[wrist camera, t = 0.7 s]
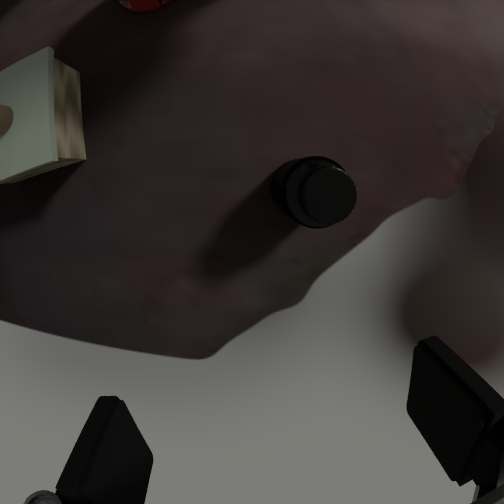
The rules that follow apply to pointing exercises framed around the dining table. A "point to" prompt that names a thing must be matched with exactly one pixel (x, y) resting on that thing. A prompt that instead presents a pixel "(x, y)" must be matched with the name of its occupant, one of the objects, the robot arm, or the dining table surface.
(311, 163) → the supplement bottle
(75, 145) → the pine box
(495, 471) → the robot arm
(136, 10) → the canned food
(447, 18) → the dining table surface
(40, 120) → the lid
